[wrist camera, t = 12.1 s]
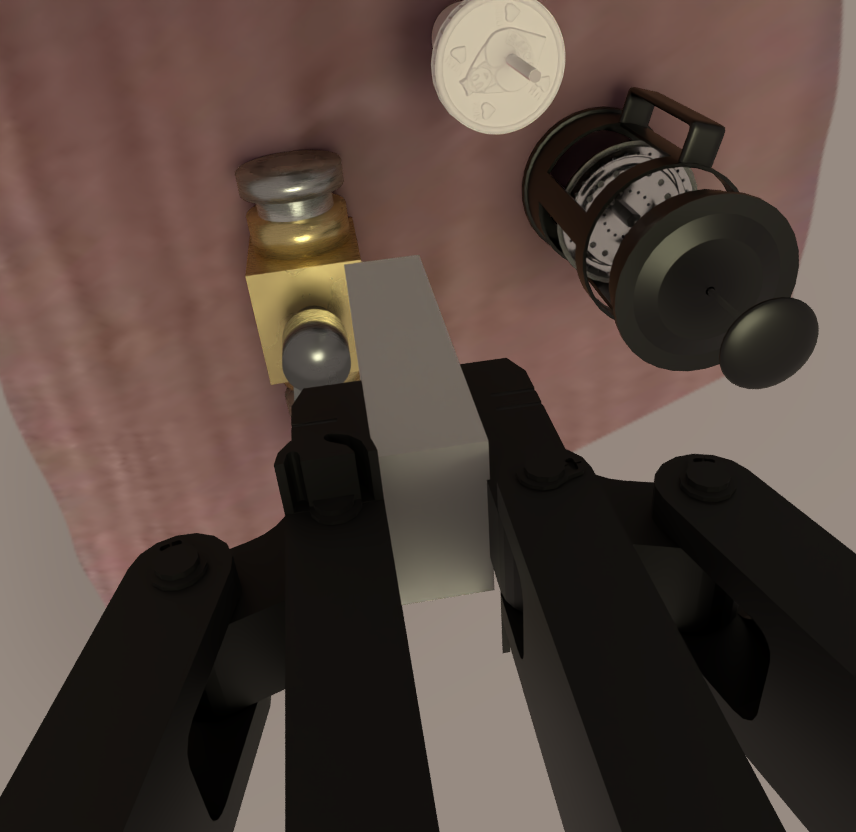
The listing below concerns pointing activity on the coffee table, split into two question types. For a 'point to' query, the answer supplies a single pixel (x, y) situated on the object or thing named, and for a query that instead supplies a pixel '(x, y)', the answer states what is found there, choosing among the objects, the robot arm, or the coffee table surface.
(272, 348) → the pipe valve
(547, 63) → the smoothie
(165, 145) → the coffee table surface
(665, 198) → the french press
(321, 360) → the lever
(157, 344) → the coffee table surface
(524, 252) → the coffee table surface
